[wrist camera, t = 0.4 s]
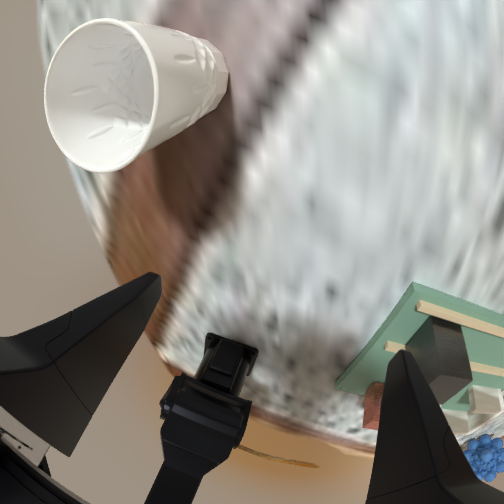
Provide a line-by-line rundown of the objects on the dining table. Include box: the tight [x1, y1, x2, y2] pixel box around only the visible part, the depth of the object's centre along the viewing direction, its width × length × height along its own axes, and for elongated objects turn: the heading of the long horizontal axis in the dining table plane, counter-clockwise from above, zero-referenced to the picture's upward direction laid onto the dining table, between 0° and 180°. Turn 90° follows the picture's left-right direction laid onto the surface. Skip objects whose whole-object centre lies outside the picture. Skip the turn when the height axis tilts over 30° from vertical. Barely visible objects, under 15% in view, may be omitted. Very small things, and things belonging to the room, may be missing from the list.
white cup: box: [44, 18, 229, 173], centre depth 15 cm, size 8×8×10 cm
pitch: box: [335, 282, 504, 411], centre depth 26 cm, size 18×26×2 cm
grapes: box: [463, 434, 504, 482], centre depth 32 cm, size 12×7×12 cm, turn 122°
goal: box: [442, 385, 504, 435], centre depth 28 cm, size 8×7×5 cm
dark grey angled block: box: [363, 316, 473, 430], centre depth 24 cm, size 14×4×6 cm, turn 169°
